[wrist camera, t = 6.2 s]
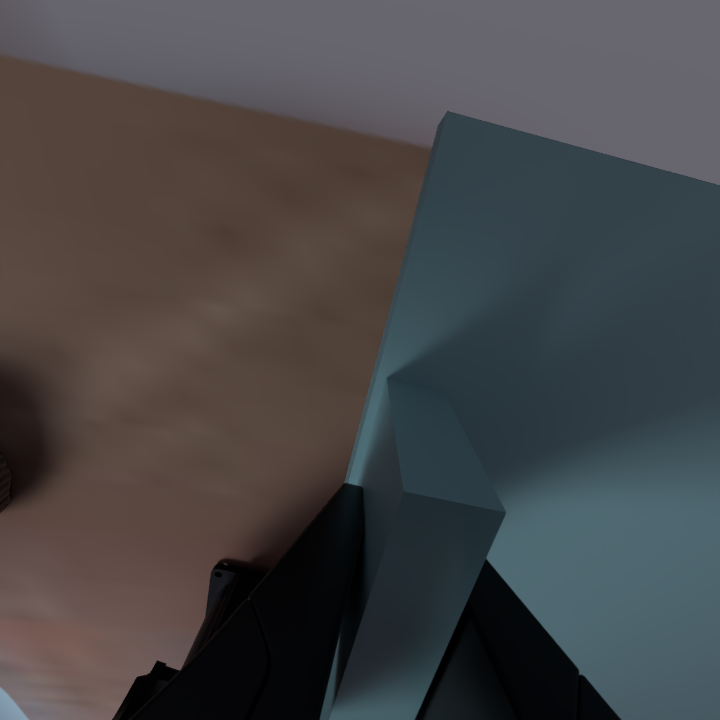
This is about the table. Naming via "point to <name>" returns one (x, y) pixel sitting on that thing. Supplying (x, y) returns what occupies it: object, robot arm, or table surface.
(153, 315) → the table surface
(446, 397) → the lid
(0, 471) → the cupcake
